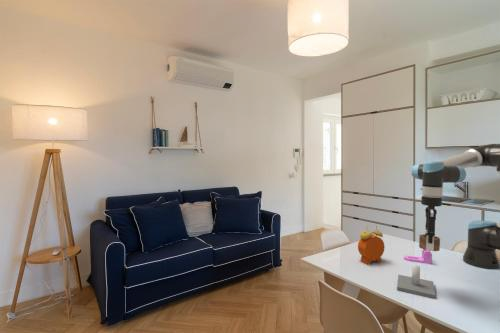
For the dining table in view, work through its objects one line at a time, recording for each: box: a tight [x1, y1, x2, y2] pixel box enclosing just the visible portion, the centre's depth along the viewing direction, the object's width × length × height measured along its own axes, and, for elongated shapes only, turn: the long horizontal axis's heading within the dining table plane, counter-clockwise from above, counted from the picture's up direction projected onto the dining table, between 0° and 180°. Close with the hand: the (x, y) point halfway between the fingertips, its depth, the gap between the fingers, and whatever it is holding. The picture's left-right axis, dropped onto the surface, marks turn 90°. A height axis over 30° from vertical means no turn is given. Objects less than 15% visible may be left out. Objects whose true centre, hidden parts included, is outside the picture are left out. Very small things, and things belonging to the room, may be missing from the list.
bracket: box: [403, 249, 433, 265], centre depth 153 cm, size 13×6×7 cm, turn 66°
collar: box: [418, 233, 441, 252], centre depth 122 cm, size 7×7×5 cm
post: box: [396, 264, 437, 300], centre depth 122 cm, size 14×14×10 cm
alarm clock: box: [357, 224, 385, 265], centre depth 152 cm, size 13×6×20 cm, turn 108°
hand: (429, 247), depth 122 cm, fingers closed on collar, 7 cm apart
